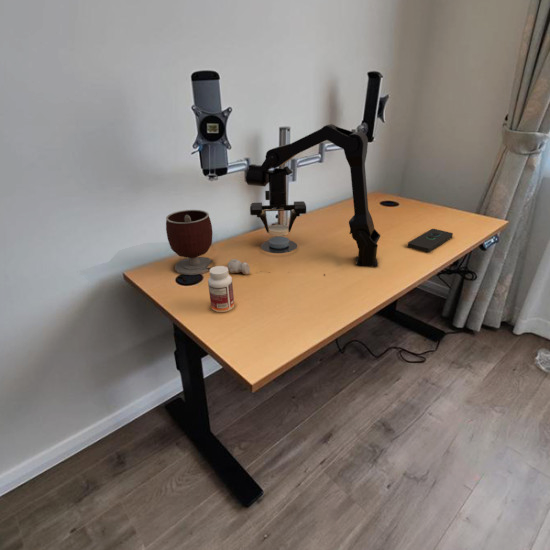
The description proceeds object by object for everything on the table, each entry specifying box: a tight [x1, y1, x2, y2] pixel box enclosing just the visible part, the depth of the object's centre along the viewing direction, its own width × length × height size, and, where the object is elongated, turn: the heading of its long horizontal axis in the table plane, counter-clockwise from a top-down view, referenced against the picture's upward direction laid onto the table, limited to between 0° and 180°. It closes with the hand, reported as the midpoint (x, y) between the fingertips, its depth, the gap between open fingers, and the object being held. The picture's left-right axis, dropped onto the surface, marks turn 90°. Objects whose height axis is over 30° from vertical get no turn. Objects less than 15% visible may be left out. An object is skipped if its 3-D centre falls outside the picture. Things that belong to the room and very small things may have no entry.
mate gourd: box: [165, 209, 213, 276], centre depth 115 cm, size 16×14×20 cm
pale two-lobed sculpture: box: [226, 258, 251, 275], centre depth 114 cm, size 4×8×5 cm
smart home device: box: [407, 228, 454, 254], centre depth 133 cm, size 8×2×20 cm
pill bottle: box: [207, 265, 235, 313], centre depth 95 cm, size 6×6×11 cm
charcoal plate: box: [260, 239, 298, 254], centre depth 131 cm, size 13×13×1 cm
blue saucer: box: [268, 236, 290, 249], centre depth 130 cm, size 7×7×2 cm
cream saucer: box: [267, 224, 290, 237], centre depth 128 cm, size 7×7×2 cm
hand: (278, 232), depth 128 cm, fingers closed on cream saucer, 7 cm apart
